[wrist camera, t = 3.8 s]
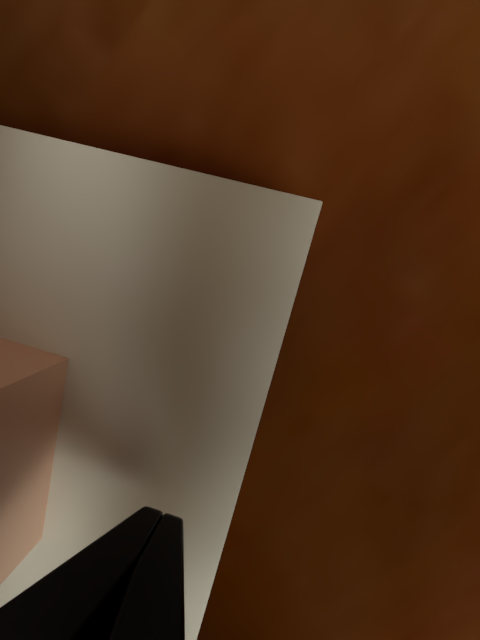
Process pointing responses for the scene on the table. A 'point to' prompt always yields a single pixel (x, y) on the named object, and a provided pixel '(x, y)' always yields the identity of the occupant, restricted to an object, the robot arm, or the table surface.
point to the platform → (145, 336)
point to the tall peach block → (26, 445)
